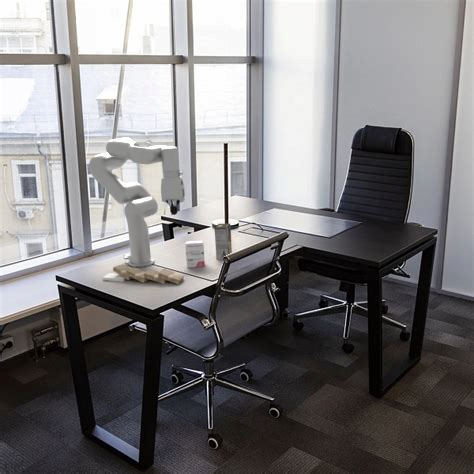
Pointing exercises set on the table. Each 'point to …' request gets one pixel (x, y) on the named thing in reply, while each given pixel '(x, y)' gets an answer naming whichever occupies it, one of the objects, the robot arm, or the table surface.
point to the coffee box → (223, 240)
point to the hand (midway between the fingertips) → (174, 214)
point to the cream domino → (114, 277)
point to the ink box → (195, 253)
